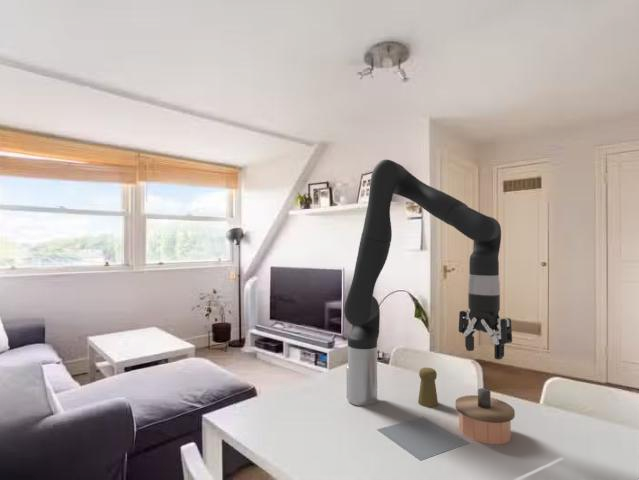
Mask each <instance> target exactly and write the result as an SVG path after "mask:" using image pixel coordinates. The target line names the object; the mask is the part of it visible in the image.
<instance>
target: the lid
mask: <svg viewBox="0 0 639 480" xmlns="http://www.w3.org/2000/svg"><path fill="white" fill-rule="evenodd" d="M455 408H456V411H458V413H459V412H460V413H461V414H463V415H465V416H467V417H469V418H472V419H475V420H479V421H484V422H492V423H502V422H508V421H511V422H512V420H514V418H515V417H516V416H515V415H516V414H515V413H516V412H515V409H514V407H513V406H512V405H510V404H508V403H507V402H506V401H503V400H500V399H498V398H494V397H491V390H490V389H487V388H481V387H480V388H478V389H477V395H473V394H472V395H471V394H470V395H464V396H463V395H462V396H459V397H458V398H457V399H455Z"/></svg>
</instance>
